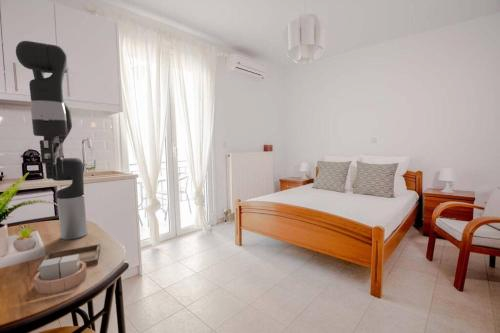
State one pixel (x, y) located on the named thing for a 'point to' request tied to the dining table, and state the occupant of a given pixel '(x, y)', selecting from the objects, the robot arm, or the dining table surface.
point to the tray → (85, 253)
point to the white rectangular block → (69, 265)
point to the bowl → (60, 281)
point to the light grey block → (50, 269)
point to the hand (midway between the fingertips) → (55, 176)
